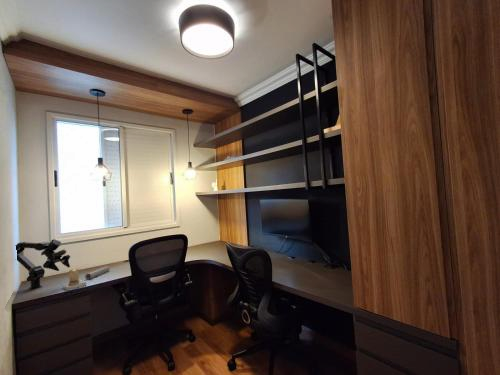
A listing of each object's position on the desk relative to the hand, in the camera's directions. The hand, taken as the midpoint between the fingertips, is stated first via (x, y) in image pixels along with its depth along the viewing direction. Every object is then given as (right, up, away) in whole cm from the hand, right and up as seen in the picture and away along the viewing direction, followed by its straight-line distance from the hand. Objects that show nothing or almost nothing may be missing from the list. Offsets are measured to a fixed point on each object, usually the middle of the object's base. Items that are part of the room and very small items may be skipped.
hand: (64, 268), depth 183 cm
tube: (+9, -15, +27) cm, 33 cm away
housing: (+9, -13, -2) cm, 16 cm away
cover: (+9, -13, -2) cm, 16 cm away
